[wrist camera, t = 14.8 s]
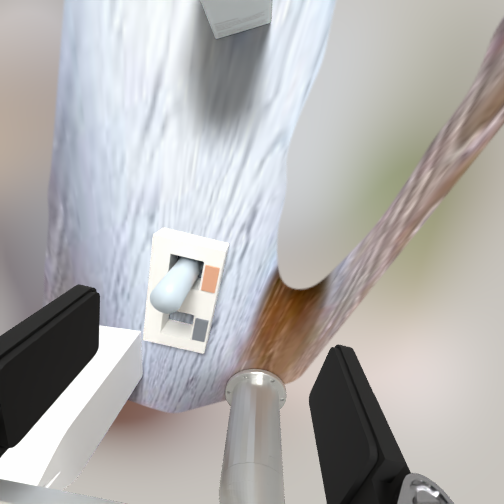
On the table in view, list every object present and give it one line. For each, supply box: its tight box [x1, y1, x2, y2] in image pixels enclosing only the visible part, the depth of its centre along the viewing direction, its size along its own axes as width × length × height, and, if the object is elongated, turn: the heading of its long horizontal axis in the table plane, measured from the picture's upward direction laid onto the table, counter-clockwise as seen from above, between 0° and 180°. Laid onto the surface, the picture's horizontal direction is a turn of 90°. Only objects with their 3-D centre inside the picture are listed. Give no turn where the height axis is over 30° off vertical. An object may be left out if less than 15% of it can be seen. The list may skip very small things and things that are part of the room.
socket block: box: [143, 227, 229, 354], centre depth 42 cm, size 20×11×4 cm, turn 166°
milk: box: [0, 326, 143, 490], centre depth 38 cm, size 12×12×26 cm
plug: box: [150, 257, 204, 314], centre depth 36 cm, size 4×4×12 cm
